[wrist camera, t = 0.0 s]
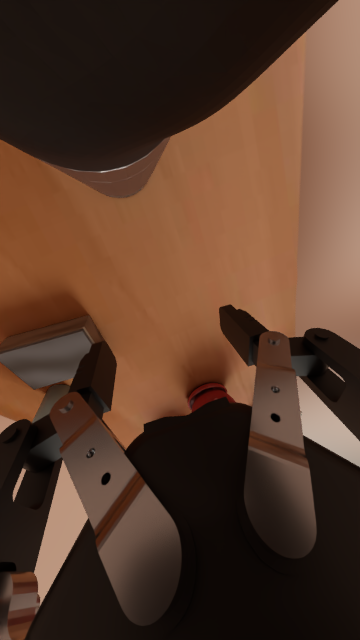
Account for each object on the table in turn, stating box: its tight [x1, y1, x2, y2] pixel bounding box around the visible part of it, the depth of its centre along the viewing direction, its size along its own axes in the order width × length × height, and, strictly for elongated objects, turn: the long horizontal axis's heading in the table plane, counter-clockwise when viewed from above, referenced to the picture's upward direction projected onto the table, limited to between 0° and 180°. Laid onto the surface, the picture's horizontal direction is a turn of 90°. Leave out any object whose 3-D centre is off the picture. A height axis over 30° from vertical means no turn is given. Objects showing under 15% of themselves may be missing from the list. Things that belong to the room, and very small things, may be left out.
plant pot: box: [188, 383, 236, 412], centre depth 44 cm, size 13×13×12 cm
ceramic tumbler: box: [32, 384, 70, 423], centre depth 31 cm, size 5×5×10 cm
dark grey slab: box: [0, 315, 105, 390], centre depth 28 cm, size 9×13×4 cm
